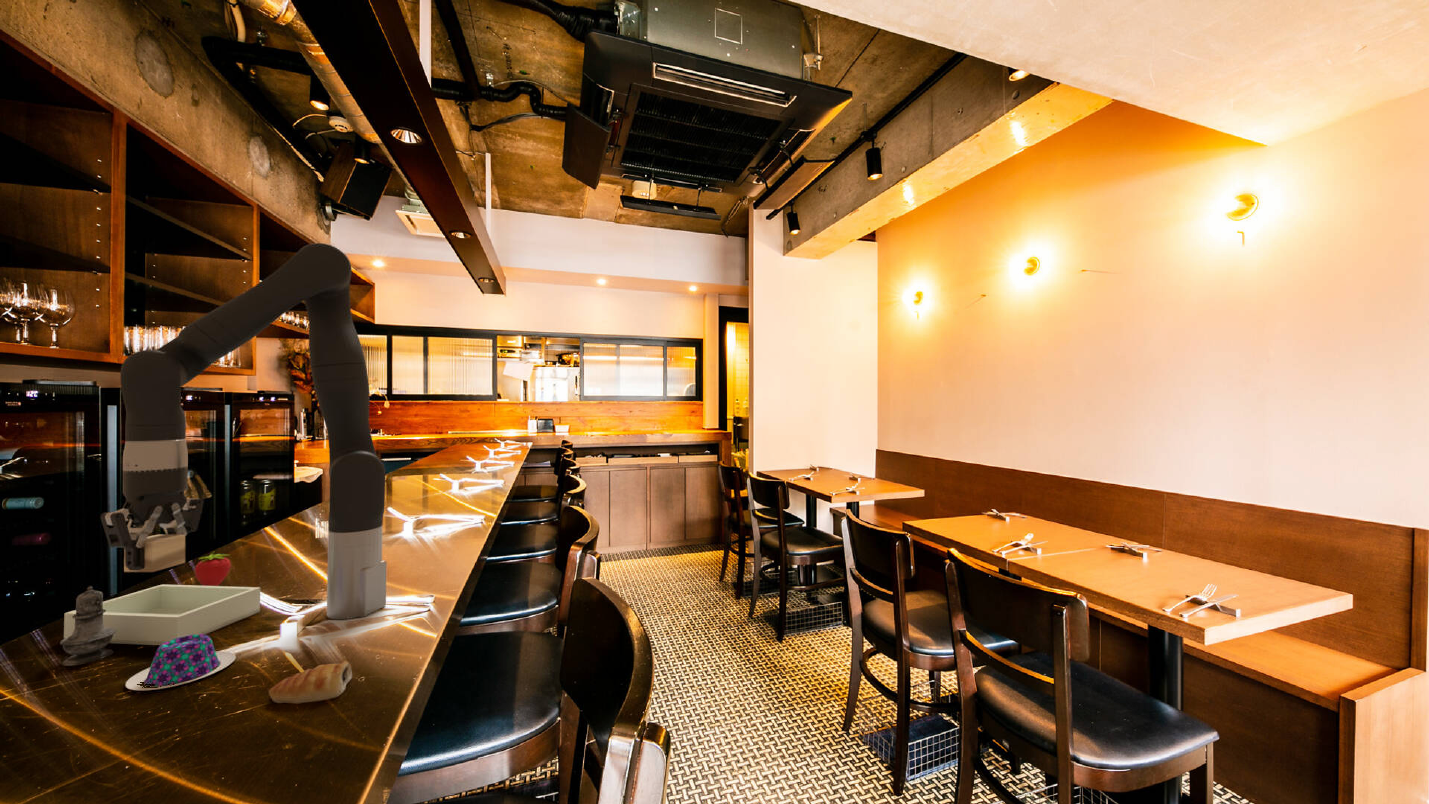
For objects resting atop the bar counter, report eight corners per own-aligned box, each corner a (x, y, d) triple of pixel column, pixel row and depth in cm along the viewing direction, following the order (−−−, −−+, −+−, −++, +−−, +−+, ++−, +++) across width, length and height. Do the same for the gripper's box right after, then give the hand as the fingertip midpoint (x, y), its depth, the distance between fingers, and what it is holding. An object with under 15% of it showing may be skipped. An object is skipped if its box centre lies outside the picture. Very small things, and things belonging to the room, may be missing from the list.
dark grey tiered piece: (75, 668, 81) (77, 593, 81) (49, 664, 82) (51, 590, 82) (124, 651, 86) (126, 581, 87) (99, 647, 87) (101, 578, 88)
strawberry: (229, 584, 119) (230, 542, 120) (231, 592, 114) (232, 548, 114) (194, 590, 115) (195, 546, 115) (193, 599, 110) (194, 553, 110)
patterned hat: (160, 662, 83) (161, 630, 83) (250, 651, 87) (251, 620, 87) (101, 702, 72) (102, 665, 72) (208, 687, 76) (209, 652, 76)
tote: (259, 611, 103) (260, 587, 103) (177, 645, 88) (177, 617, 88) (161, 608, 105) (162, 584, 105) (63, 641, 90) (64, 613, 90)
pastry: (259, 713, 69) (260, 685, 69) (280, 689, 75) (281, 663, 76) (341, 699, 73) (342, 672, 73) (355, 676, 79) (355, 652, 79)
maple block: (185, 562, 89) (185, 534, 89) (152, 572, 84) (152, 542, 84) (158, 562, 89) (158, 534, 89) (124, 571, 84) (124, 542, 84)
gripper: (126, 471, 80) (126, 578, 79) (219, 461, 94) (219, 552, 94) (82, 471, 80) (81, 578, 80) (181, 461, 94) (181, 552, 94)
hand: (156, 563), depth 87 cm, fingers closed on maple block, 5 cm apart
